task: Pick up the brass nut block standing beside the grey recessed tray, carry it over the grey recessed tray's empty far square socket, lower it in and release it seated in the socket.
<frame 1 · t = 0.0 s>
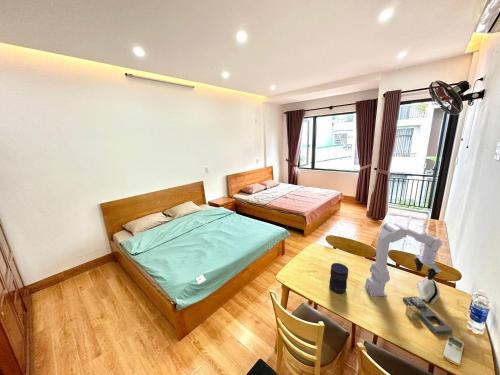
hand: (424, 274, 119), 10 cm above the table, fingers open, 7 cm apart
grey recessed tray: (424, 315, 104), on the table
brass nut: (412, 316, 104), on the table
zinc nut: (416, 307, 109), resting in grey recessed tray
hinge: (426, 294, 118), on the table
storage jar: (337, 288, 124), on the table
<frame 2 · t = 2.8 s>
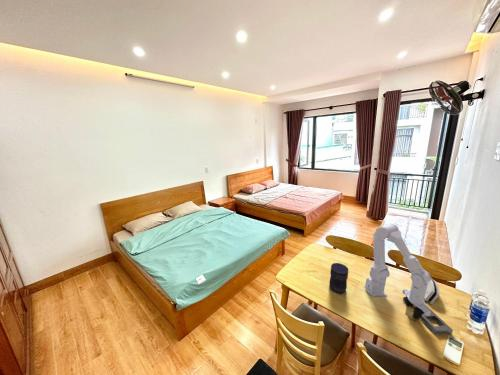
hand: (412, 314, 103), 1 cm above the table, fingers closed on brass nut, 4 cm apart
brass nut: (412, 316, 104), on the table, touching gripper
everything else where it was.
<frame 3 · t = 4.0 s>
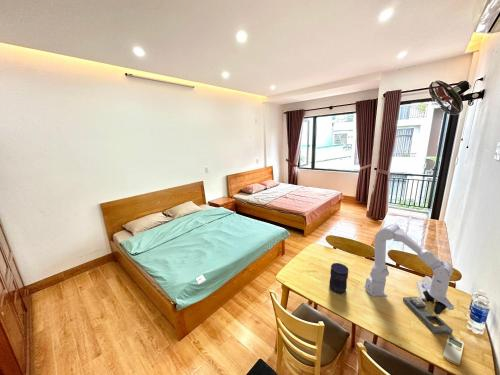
hand: (433, 309, 97), 9 cm above the table, fingers closed on brass nut, 4 cm apart
brass nut: (432, 312, 98), point 7 cm above the table, touching gripper
everything else where it was.
when the fingers open (3 cm above the table, at t = 5.6 s): brass nut drops 1 cm, resting in grey recessed tray.
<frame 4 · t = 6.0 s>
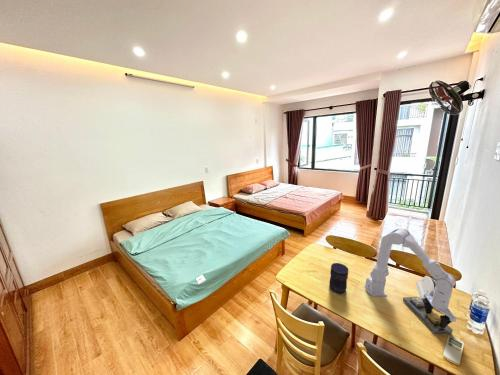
hand: (435, 320, 98), 3 cm above the table, fingers open, 7 cm apart
brass nut: (433, 324, 99), resting in grey recessed tray
everything else where it was.
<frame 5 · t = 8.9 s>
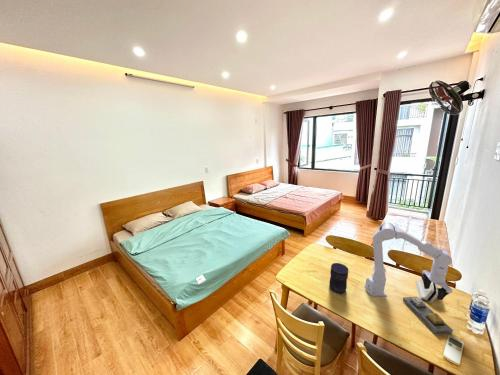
hand: (432, 293, 105), 10 cm above the table, fingers open, 7 cm apart
at the end: brass nut 0.1 cm from the target spot on the grey recessed tray, point 0.0 cm above the grey recessed tray's base; brass nut tilted 0°; the gripper is holding nothing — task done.
